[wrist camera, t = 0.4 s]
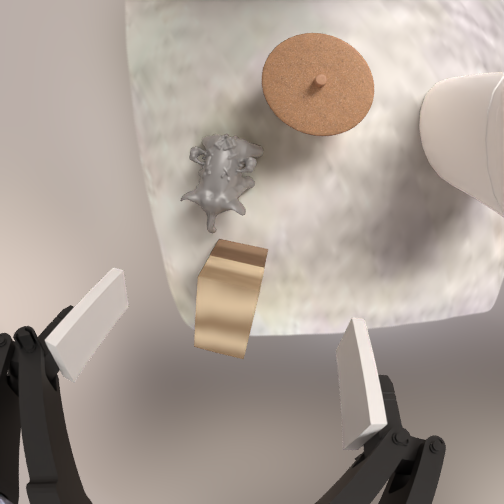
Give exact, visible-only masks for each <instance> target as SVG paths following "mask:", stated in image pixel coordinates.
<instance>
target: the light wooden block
mask: <svg viewBox="0 0 504 504" xmlns="http://www.w3.org/2000/svg"><path fill="white" fill-rule="evenodd" d="M263 273H264V267H259V266H255V265H250V264H246V263H241V262H237V261H232V260H228V259H223V258H219V257H214V256H210V257H209V258H208V260H207V262H206V264H205V265H204V267H203V269H202V270H201V272H200V274H199V276H198V283H197V299H196V317H195V341H194V347H197V348H201V349H205V350H209V351H212V352H216V353H220V354H225V355H228V356H233V357H237V358H241V359H244V355H245V351H246V347H247V342H248V338H249V334H250V330H251V326H252V322H253V317H254V313H255V309H256V305H257V300H258V296H259V292H260V287H261V282H262V278H263Z"/></svg>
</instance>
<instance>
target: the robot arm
mask: <svg viewBox="0 0 504 504" xmlns="http://www.w3.org/2000/svg"><path fill="white" fill-rule="evenodd" d="M128 307H129V304H128V298H127V291H126V283H125V276H124V270H122V269H118V268H114V267H113V268H112V269H111V270H110V271H109V272H108V273H107V274H106V275H105V276H104V277H103V278H102V279H101V280H100V281H99V282H98V283H97V284H96V285H95V286H94V287H93V288H92V289H91V290H90V291H89V292H88V293H87V294H86V295H85V296H84V297H83V298H82V299H81V300H80V301H79V303H78V304H77V305H76V306H75V307H73V306H71V305H70V306H69V307H67V308H65V309H63V310H62V311H61V312H60V313H59V314H58V315H57V317H56V318H55V319H54V320H53V322H51V323H50V324H49V325H48V326H47V328H46V329H45V330H44V331H43V332H42V333H41V334H40V335H39V336H38V337H37V335H36V333H35V331H34V329H33V328H32V327H29V326H24V327H21V328H19V329H18V330H17V331H16V332H15V334H14V337H13V338H14V340H15V341H13V340H12V339H11V336H10V335H8V334H7V333H1V334H0V504H18V500H19V445H20V432H21V430H22V439H23V445H24V452H25V457H26V463H27V467H28V472H29V477H30V482H29V483H28V484H27V486H26V489H27V495H28V498H29V501H30V504H92V502H91V501H90V499H89V498H88V497H87V496H86V494H85V492H84V489H83V486H82V483H81V480H80V477H79V474H78V471H77V468H76V465H75V461H74V458H73V454H72V450H71V446H70V442H69V438H68V434H67V430H66V424H65V419H64V413H63V408H62V401H61V396H60V387H59V378H58V375H57V373H58V372H59V370H60V371H61V373H62V375H63V377H65V378H67V379H69V380H70V381H72V382H75V381H76V379H77V378H78V376H79V375H80V373H81V372H82V370H83V369H84V367H85V366H86V364H87V363H88V362H89V360H90V359H91V357H92V356H93V354H94V353H95V352H96V350H97V349H98V347H99V346H100V345H101V343H102V342H103V340H104V339H105V338H106V336H107V335H108V333H109V332H110V331H111V329H112V328H113V327H114V325H115V324H116V323H117V321H118V320H119V319H120V317H121V316H122V315H123V313H124V312H125V311H126V309H127V308H128ZM336 358H337V367H338V377H339V388H340V402H341V416H342V436H343V450H358V449H359V448H360V447H362V446H363V445H364V452H363V453H362V454H360V455H359V456H358V457H356V458H355V460H356V461H355V462H354V463H353V464H352V466H351V467H350V468H349V469H348V470H347V471H346V473H345V474H344V475H343V476H342V477H341V478H340V479H339V480H338V481H337V482H336V483H335V484H334V486H332V487H331V488H330V489H329V491H328V492H327V493H326V494H325V495H323V497H322V498H321V499H319V500H318V501H317V502H316V503H315V504H370V503H371V502H372V501H373V499H374V498H375V497H376V495H377V494H378V493H379V491H380V490H381V489H382V487H383V486H384V485H385V483H386V481H388V483H387V485H386V488H385V490H384V492H383V495H382V497H381V499H380V501H379V503H378V504H432V501H433V498H434V495H435V491H436V488H437V484H438V481H439V477H440V473H441V469H442V465H443V459H444V455H445V450H446V445H445V443H444V441H443V440H442V438H440V437H439V436H431V437H429V438H428V439H426V440H423V439H419V438H415V437H412V436H410V434H409V432H408V431H407V430H406V429H404V428H402V425H401V419H400V415H399V410H398V405H397V401H396V396H395V394H394V393H395V391H394V387H393V383H392V382H391V380H390V379H389V377H388V376H387V375H378V372H377V368H376V363H375V359H374V355H373V351H372V346H371V342H370V338H369V336H368V331H367V327H366V323H365V319H360V318H354V317H352V318H351V321H350V323H349V325H348V327H347V329H346V331H345V333H344V335H343V337H342V339H341V341H340V344H339V345H338V348H337V350H336ZM7 372H8V374H7ZM388 479H389V480H388Z"/></svg>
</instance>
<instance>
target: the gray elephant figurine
mask: <svg viewBox="0 0 504 504" xmlns="http://www.w3.org/2000/svg"><path fill="white" fill-rule="evenodd" d="M202 144H203V145H204V146H205V149H206V151H204V150H202V149H201V148H199V147H197V146H195V147H192V148H191V150H190V156H189V158H190V160H192V161H194V162H196V163H198V164H200V165H202V169H201V170H200V171H199V176H200V179H199V184H198V185H197V187H196V189H195V190H193V191H190V192H188V193H186V194H184V195H183V196H182V198H181V201H182V200H185V199H188V200H190V201H192V202H195V203H197V204H198V205H200V206H201V208H202V209H203V210H204V211H205V212H206V214H207V216H208V219H207V229H208V231H209V232H211V233H215V232H216V228H215V227H213V226H214V219H215V217H216V216H217V215H218V214H220V213H222V212H225V211H229V210H234V211H236V212H237V213H239V214H240V215H245V213H246V210H245V207H244V206H243V204H242V203H241V202H240V201H239V200H238V199H237V198H238V197H239V196H240V195H241V194H242V193H243V192H244V191H245V190H246V189H250V188H252V187H254V185H255V181H254V180H253V179H252V178H251V177H249V176H246V177H242V172H252V171H253V170H254V167H255V166H256V160H255V158H252V156H253V157H256V158H257V157H260V156H262V154H263V148H262V147H261V146H260V145H255V144H252V143H250V142H248V141H247V140H245V139H239V138H238V137H237V136H236V135H235V136H233V137H229V135H228V134H225V135H223V136H221V135H218V134H214V135H212V136H205V137H203V138H202ZM202 154H204V155H205V157H203V158H202V159H204V160H205V162H200V161H199V160H198V159H197V157H198V156H199V155H202ZM244 163H245V168H244V169H242V167H244V166H243V165H244Z"/></svg>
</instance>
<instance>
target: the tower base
mask: <svg viewBox="0 0 504 504" xmlns="http://www.w3.org/2000/svg"><path fill="white" fill-rule="evenodd" d="M267 252H268V249H264V248H260V247H255V246H250V245H246V244H241V243H236V242H231V241H227V240H222V239H219V240H218V242H217V244H216V245H215V247H214V249H213V250H212V252H211V254H210V256H214V257H219V258H223V259H228V260H232V261H237V262H241V263H246V264H250V265H255V266H259V267H265V262H266V257H267Z"/></svg>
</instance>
